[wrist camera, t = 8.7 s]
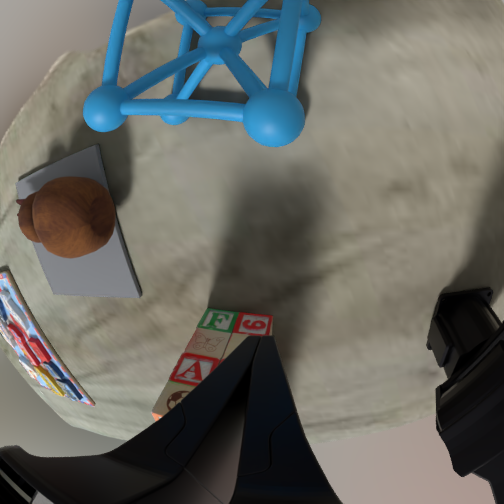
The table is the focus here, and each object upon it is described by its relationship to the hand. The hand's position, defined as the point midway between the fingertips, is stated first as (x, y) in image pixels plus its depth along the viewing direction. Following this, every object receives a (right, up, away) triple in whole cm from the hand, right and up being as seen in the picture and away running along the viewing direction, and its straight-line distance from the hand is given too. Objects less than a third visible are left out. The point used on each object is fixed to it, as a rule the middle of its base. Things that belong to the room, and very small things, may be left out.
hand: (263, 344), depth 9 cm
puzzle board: (-45, -15, +32) cm, 57 cm away
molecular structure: (-1, +16, +8) cm, 18 cm away
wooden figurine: (-11, +6, +10) cm, 16 cm away
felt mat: (-20, +5, +16) cm, 26 cm away
